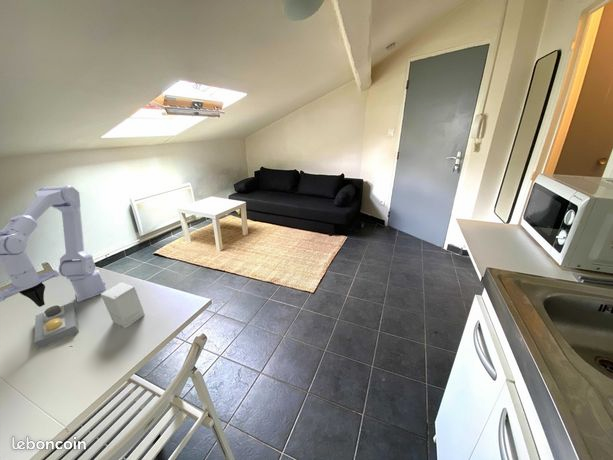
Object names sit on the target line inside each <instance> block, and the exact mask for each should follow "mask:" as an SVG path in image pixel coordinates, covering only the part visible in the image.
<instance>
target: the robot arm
mask: <svg viewBox="0 0 613 460" xmlns="http://www.w3.org/2000/svg"><path fill="white" fill-rule="evenodd" d="M34 196H35V198H34V199H32V202H31V203H30V204H29V206H28V207H27V208H26V210H25V211H24V212H23V213H22V215H16V216H13V217H10V219H9V222H8V223H7V224H6V225H5V226H4V227H3V228H2V229H1V230H0V265H1V267H2V268H3V270H4V271H5V273H6V275H7V276H8V278H9V280H10V281H11V282H12V285H11V286H9V287H7V288H5V289H4V290H2V291H0V303H1V302H3V301H5V300H6V299H7V298H9V297H13V296H14V295H17V294H20V295H22V296H24V297H26V298H28V299H29V300H31V301H32V302H33V303H34V304H35V305H36V306H38V308H40V307H43V306H45V305H46V304H45V298H44V297H45V295H44V294H45V290H46V285H45V284H44V282H46V281H48V280H51V279H53V278H58V277H59V276H62V277H65V278H66V279H67V280H69V281H70V284H71V286H72V288H73V289H74V292H75V296H76V302H77V303H80V302H83V301H85V300H88V299H91V298H93V297H97V296H99V295H101V294H102V293H103V292H105V291H107V290H108V289H107V288H106V283H105V280H103V278H102V276H101V273H100V270H99V269H96V264H95V260H94V258H93V255H92V254H90V253H88V252H86V251H85V246H84V245H85V243H84V234H83V233H84V232H83V224H82V223H83V222H82V215H81V214H82V213H81V199H80V192H79V190H77V189H76V188H75V187H74V186H72V185H57V186H55V185H54V186H53V185H52V186H40V187H39V188H38V189H37V191H35V192H34ZM50 207H52V208H54V209H56V210H58V211H59V212H60V213H61V217H62V224H63V225H62V227H63V238H64V239H63V240H64V246H65V248H64V249H65V254H63V255H62V256H61V257H60V258H59V265H58V270H55V269H52V270H50V271H47V272H44V273H40V274H38V273H37V272H38V271H36V269H35V267H34V265H33V264H32V262H31V260H30V258H29V256H28V254H27V253H26V251H25V250H26V248H27V244H28V243H27V242H28V240H29V237H30V236H31V234H32V233H33V232H34V231H35V229H37V228H38V222H37V221H38V219H40V218H41V216H42V215H43V214H44V213H45V212H46V211H47V210H48V209H50Z"/></svg>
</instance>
